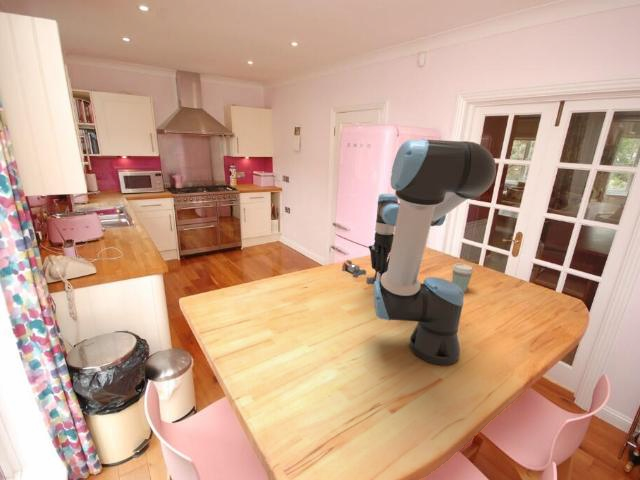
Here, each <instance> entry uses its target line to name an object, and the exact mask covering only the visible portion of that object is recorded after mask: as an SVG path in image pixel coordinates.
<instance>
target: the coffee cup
mask: <svg viewBox="0 0 640 480" xmlns="http://www.w3.org/2000/svg"><path fill="white" fill-rule="evenodd" d="M473 274H474V270H473V267H472V265H471V266H470V265H468V264H465V263H454V264H453V266H452V279H451V280H452V281H451V282H452V283H454V284H456V285H458V286H459V287H460V288H461V289H462V290H463V293H464V294H465V293H467V290H468V288H469V284H470V281H471V278H472V275H473Z"/></svg>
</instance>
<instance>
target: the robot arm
mask: <svg viewBox="0 0 640 480" xmlns="http://www.w3.org/2000/svg"><path fill="white" fill-rule="evenodd" d="M496 175H497V164H496V161H495V158H494V156H493V155H492V153H491V152H490V151H489V150H488V148H486V147H485V146H484V145H482V144H479V143H478V142H474V141H464V140H463V141H459V140H458V141H456V140H455V141H454V140H444V139H443V140H439V139H426V138H422V139H409V140H408V139H407V140H405V141H404V142H403V143H402V144H401V146H400V147H399V148H398V150H397V153H396V155H395V157H394V159H393V165H392V167H391V176H390V186H391V188H392V189H393V190H395V193H394V194H393V193H380V194H379V195H378V200H377V210H376V219H375V227H374V230H375V232H374V243H373V244H372V245H369V246H368V249H369V251H370V252H369V254H370V263H371V264H370V265H371V269H372V270H373V269H374V271H375V274H374V276H375V278H376V281H375V282H374V283H373V301H374V310H375V311H374V312H375V314H376V317H378V318H379V319H380V320H386V321H400V322H417V324H416V326H415V328H414V330H413V331H412V334H410V337H409V344H408V345H409V348H410V351H412V353H413V354H414V355H416V356H417V357H418V358H420V359H422V360H424V361H425V362H428V363H431V364H435V365H442V366H443V365H444V366H445V365H452V364H455V363H456V362H458V361H459V358H460V353H461V348H460V341H459V336H458V331H459V325H460V321H461V315H462V312H463V311H462V310H463V307H464V296H465V293H463V290H462V289H461V288H460V287H459V286H458V285H456V284H454V283H452V281H450V280H447V279H444V278H441V277H434V276H430V277H426V278H425V279H424V280H423V282H422V283H421V281H420V280H419V279H418V275H419V272H420V268H421V264H422V261H423V257H424V252H425V248H426V245H427V240H428V236H429V233H430V228H431V227H439V226H442V225H444V222H445V221H446V216H447V214H449V213H450V212H452V211H453V210H455V209H456V208H457V207H458V206H460V205H461V204H462V203H464V202H465V201H467V200H472V199H476V198H478V197H480V196H481V195H483V194H485V192H487V190H488V189H490V187H491V186H492V185H493V184H494V182H495V179H496Z"/></svg>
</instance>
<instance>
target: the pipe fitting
mask: <svg viewBox="0 0 640 480" xmlns="http://www.w3.org/2000/svg"><path fill="white" fill-rule="evenodd" d="M341 269H342V271H343V272H348V273H350V274H353V275H352V277H353V278H359V276H363V275H364V276H366V274H367V270H366V269H361V268H360V266H359V265H356V264H354V263H353V262H352V260H349V259H347V260H345V261H344V262H343V264H342V267H341ZM375 281H376V278H375V275H373V276H371V277H366V281H365V283H366V284H367V285H374V282H375Z"/></svg>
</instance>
